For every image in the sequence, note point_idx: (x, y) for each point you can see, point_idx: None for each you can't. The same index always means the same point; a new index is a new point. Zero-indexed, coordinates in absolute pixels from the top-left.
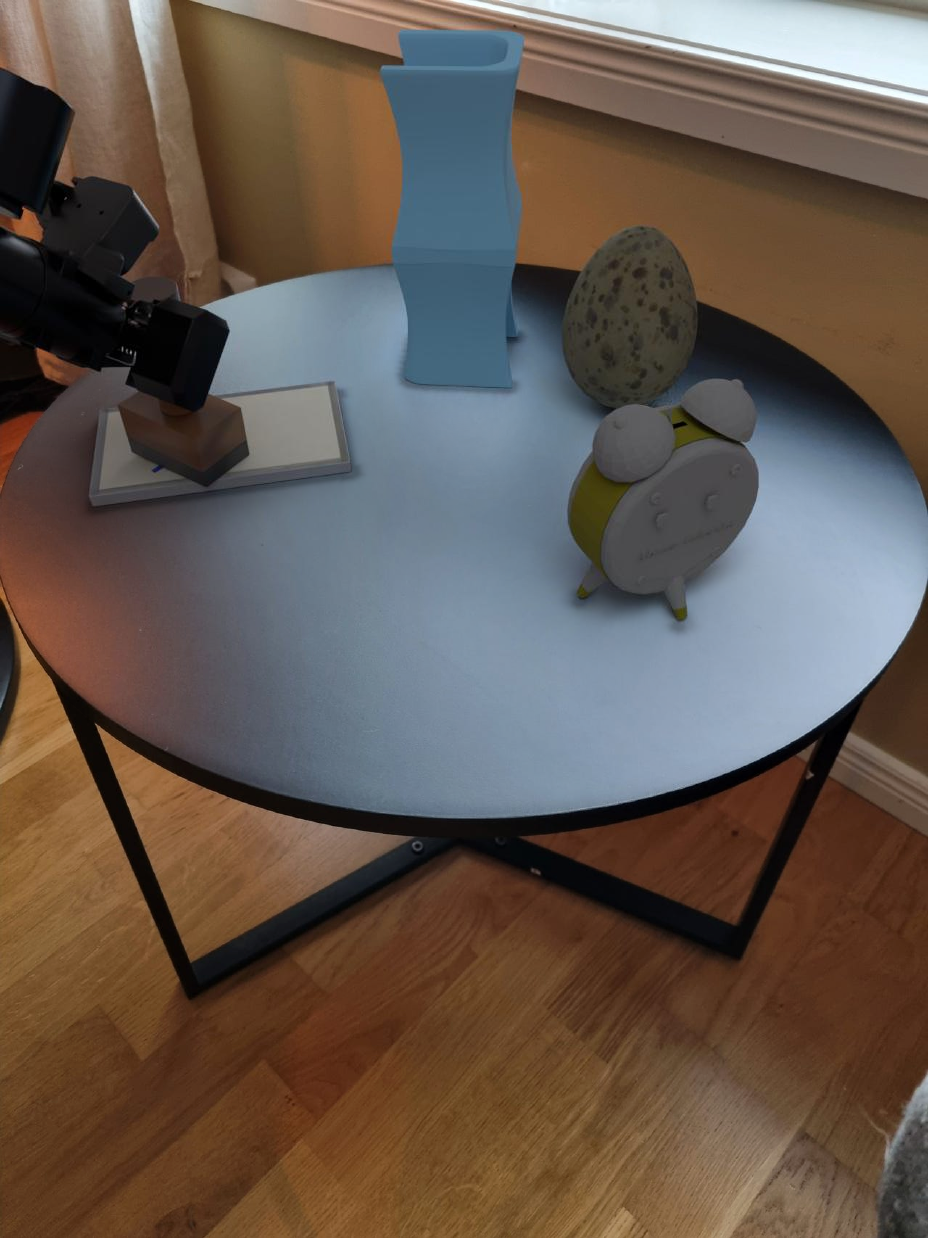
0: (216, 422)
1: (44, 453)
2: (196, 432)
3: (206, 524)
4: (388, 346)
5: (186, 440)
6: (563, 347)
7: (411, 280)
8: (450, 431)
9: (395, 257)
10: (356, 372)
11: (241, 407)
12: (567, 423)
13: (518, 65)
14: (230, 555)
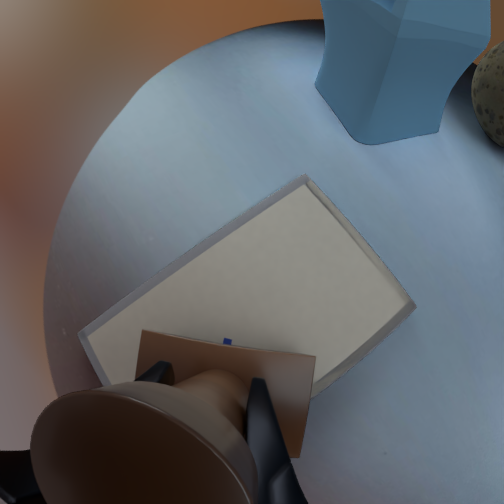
0: (304, 410)
1: None
2: (288, 443)
3: (311, 460)
4: (303, 104)
5: None
6: (500, 113)
7: (404, 54)
8: (444, 203)
9: (402, 31)
10: (302, 146)
11: (228, 266)
12: (491, 166)
13: None
14: (362, 479)
